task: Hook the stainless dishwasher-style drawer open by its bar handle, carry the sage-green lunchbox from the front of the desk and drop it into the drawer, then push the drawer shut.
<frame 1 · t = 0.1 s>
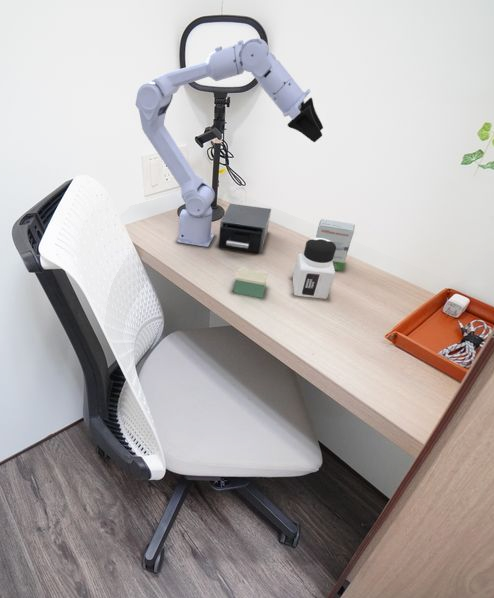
hand: (318, 134, 84), 32 cm above the table, tool tilted 50°, fingers open, 7 cm apart
drawer: (242, 234, 104), point 4 cm above the table, slide at 1.0 cm
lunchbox: (249, 290, 89), on the table
container: (308, 289, 90), on the table
dishwasher: (243, 239, 110), on the table
ink box: (325, 264, 99), on the table
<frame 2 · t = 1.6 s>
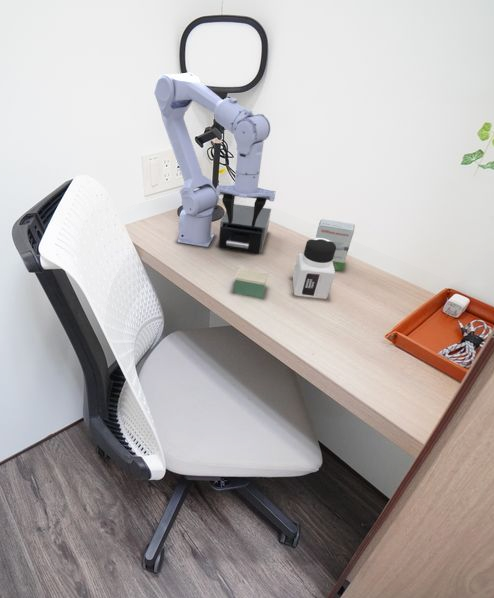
hand: (241, 223, 95), 10 cm above the table, tool pointing down, fingers open, 5 cm apart
nothing on the table moved.
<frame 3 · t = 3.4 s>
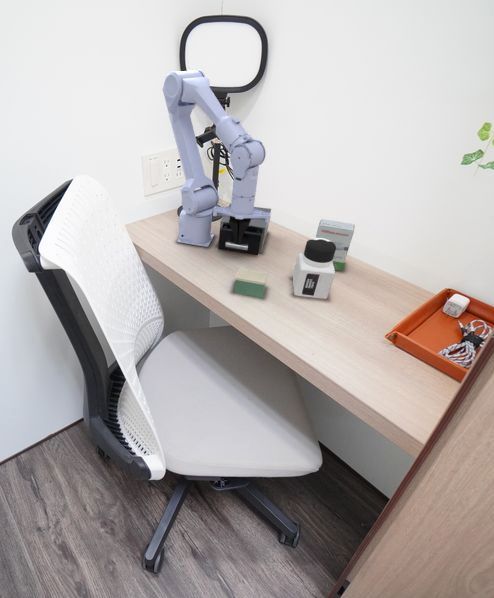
hand: (238, 243, 97), 5 cm above the table, tool pointing down, fingers closed, pressing on drawer
drawer: (241, 236, 103), point 4 cm above the table, slide at 2.0 cm, touching gripper
everything else where it was.
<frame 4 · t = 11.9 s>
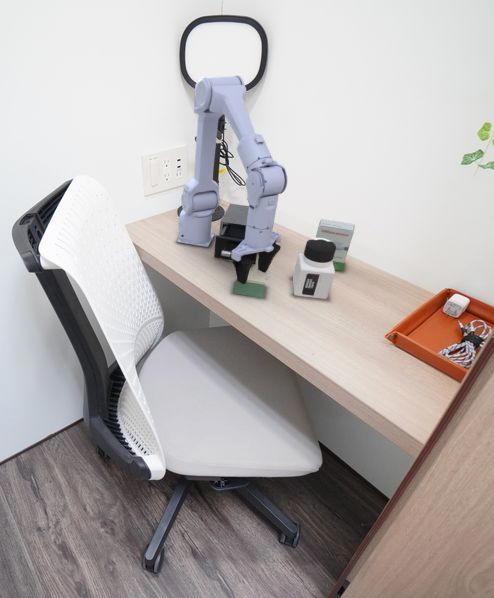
hand: (252, 276, 86), 4 cm above the table, tool pointing down, fingers open, 7 cm apart
drawer: (238, 244, 99), point 4 cm above the table, slide at 6.9 cm
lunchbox: (249, 290, 89), on the table, touching gripper
everything else where it was.
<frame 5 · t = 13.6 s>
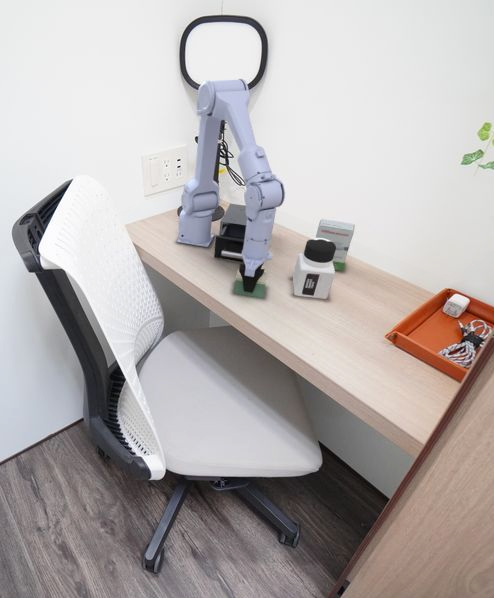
hand: (250, 285, 88), 1 cm above the table, tool pointing down, fingers closed on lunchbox, 4 cm apart
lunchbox: (249, 290, 89), on the table, touching gripper
everything else where it was.
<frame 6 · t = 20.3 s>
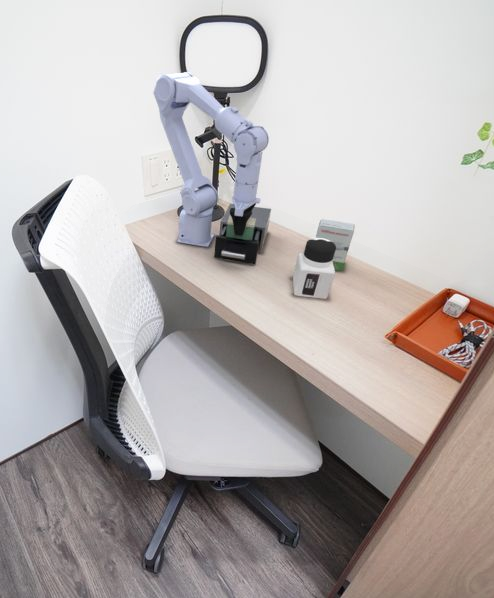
hand: (240, 230, 98), 8 cm above the table, tool pointing down, fingers closed on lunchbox, 4 cm apart
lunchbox: (239, 235, 99), point 6 cm above the table, touching gripper
everything else where it was.
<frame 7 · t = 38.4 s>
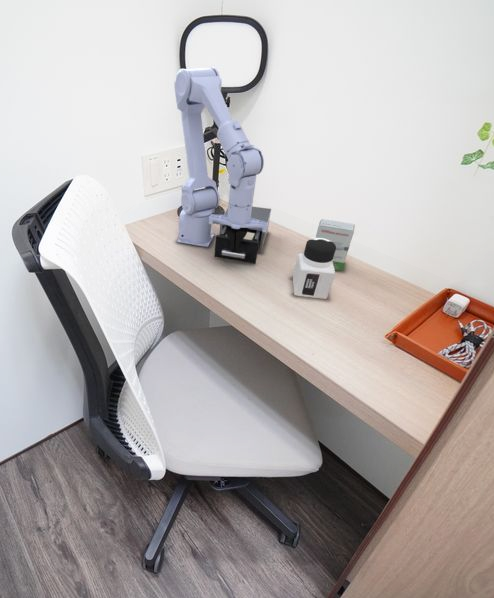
hand: (234, 252, 95), 4 cm above the table, tool pointing down, fingers closed, pressing on drawer
drawer: (238, 243, 100), point 4 cm above the table, slide at 6.6 cm, touching gripper, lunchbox
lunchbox: (238, 248, 101), point 2 cm above the table, touching drawer
everything else where it was.
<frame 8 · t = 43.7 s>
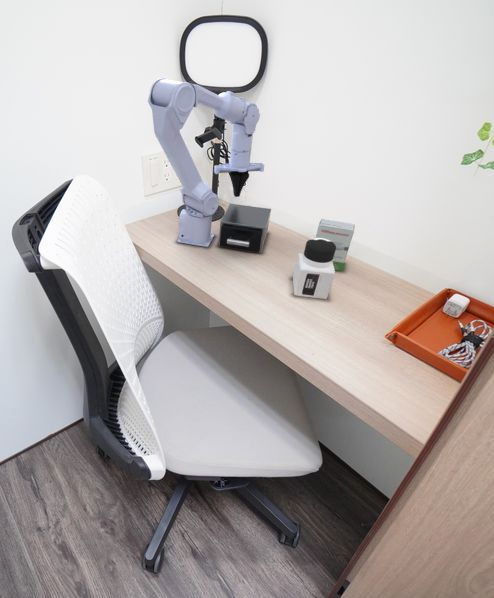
hand: (236, 195, 111), 10 cm above the table, tool pointing down, fingers closed
drawer: (242, 233, 105), point 4 cm above the table, slide at 0.0 cm, touching dishwasher, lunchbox
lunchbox: (242, 238, 106), point 2 cm above the table, touching drawer
everything else where it was.
at the end: drawer pulled out 7.6 cm at the most during the clip, back to where it started at the end; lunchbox inside the target area in the dishwasher (2.4 cm from its centre), point 2.0 cm above the dishwasher's base; drawer slide at 0.0 cm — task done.
